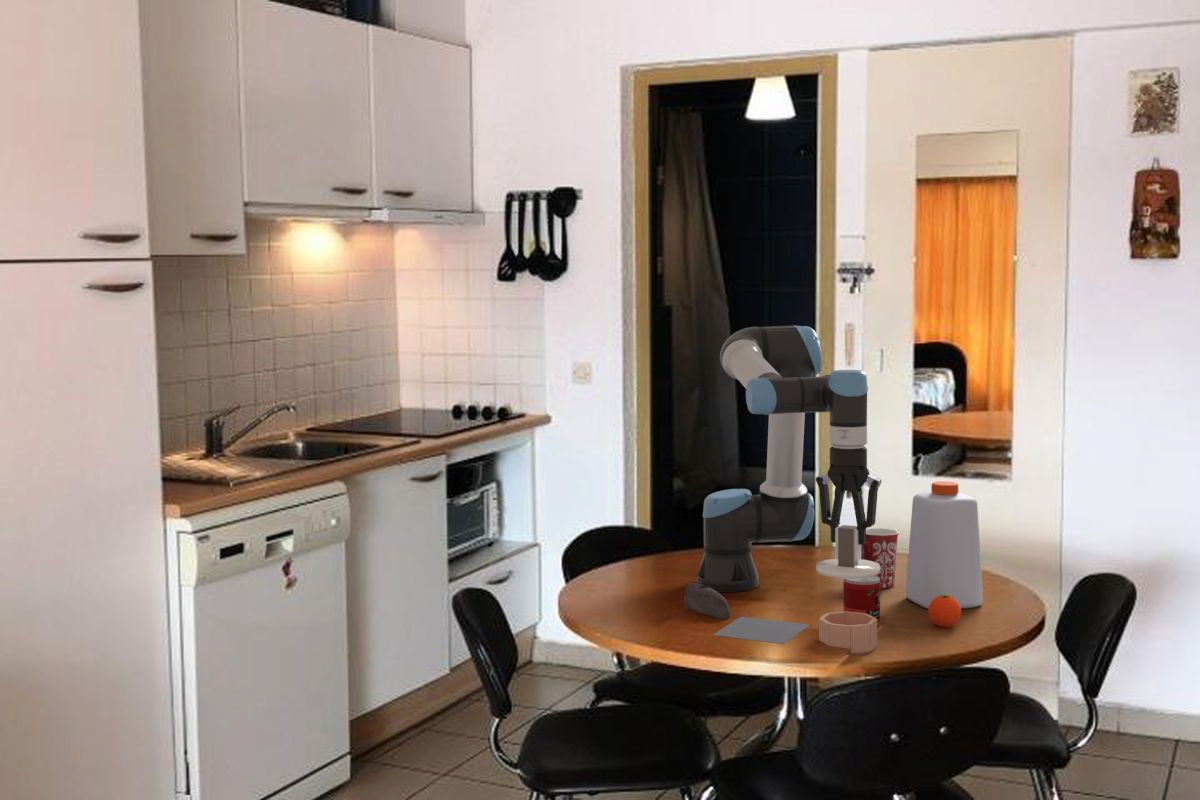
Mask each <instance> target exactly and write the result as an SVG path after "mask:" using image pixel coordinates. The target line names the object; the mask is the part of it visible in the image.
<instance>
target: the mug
mask: <svg viewBox="0 0 1200 800" xmlns="http://www.w3.org/2000/svg"><path fill="white" fill-rule="evenodd" d="M898 536H899V531H898V530H895V529H892V528H884V527H883V528H882V527H878V528H877V527H876V528H875V527H873V528H872V527H868V528H866V542H865V544H863V545H861V547H862V552H863V560H869V561H873V562H876V563H878V564H880V574H878V575H876V576H877V577H879V578H880V590H882V589H883V588H887V589H892V588H894V587H893V586H895V580H896V566H897V551H898V550H897V549H898ZM891 587H892V588H891ZM883 590H884V589H883Z"/></svg>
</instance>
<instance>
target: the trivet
mask: <svg viewBox="0 0 1200 800" xmlns="http://www.w3.org/2000/svg"><path fill="white" fill-rule="evenodd" d="M809 626H810V624H808V623H798V622H792V621H791V622H789V621H781V620H773V619H763V618H757V617H746V616H740V617H737V618H736V619H735V620H733V621H732V622H730V623H729V624H727V625H726V626H724V627H723V628H721V629H719V630H718V631H717V632H715V633H713V634H712V636H716V637H723V638H724V637H725V638H732V639H740V640H747V641H755V642H763V643H765V642H766V643H772V644H773V643H774V644H779V645H780V644H781V645H785V644H786V643H788V642H790V641H791V640H792V639H793V638H795V637H796V636H798V634H800V633H801V632H803V631H805V629H807V628H808V627H809Z"/></svg>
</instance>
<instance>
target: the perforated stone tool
mask: <svg viewBox="0 0 1200 800" xmlns="http://www.w3.org/2000/svg"><path fill="white" fill-rule="evenodd" d="M683 598H684V599H683V603H684V606H685V607H686V609H687V610H691V611H693V612H697V613H699V614H702V615H706V616H709V617H712V618H716V619H723V620H728V619H729V618H730V617H731V609H730V605H729V603H728V601H727V599H726V598H725V597H724V596H723V595H722V594H721V593H720V592H717V591H715V590H713V589H712V588H710V587H708V586H705V585H702V584H699V583H697V582H691V583H690V584H687V586H686V587H685V589H684V595H683Z"/></svg>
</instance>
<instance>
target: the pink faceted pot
mask: <svg viewBox="0 0 1200 800" xmlns="http://www.w3.org/2000/svg"><path fill="white" fill-rule="evenodd" d="M877 627H878V624H877V619H876V618H874V617H872V616H871V615H869V614H866V613H857V612H848V611H835V612H826V613H825V614H823V615H822V616H820V617H819V619H818V641H820V642H822V643H823V644H825V645H826V646H828V647H832V648H833V647H834V648H841V649H842V648H844V649H850V650H848V651H847V652H846V653H845V654H844V655H846V656H852V655H853V656H855V655H857V656H858V655H864V654H865V655H866V654H869V653H872V652H874V651H875V650H876V647H877V646H878V629H877Z"/></svg>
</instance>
